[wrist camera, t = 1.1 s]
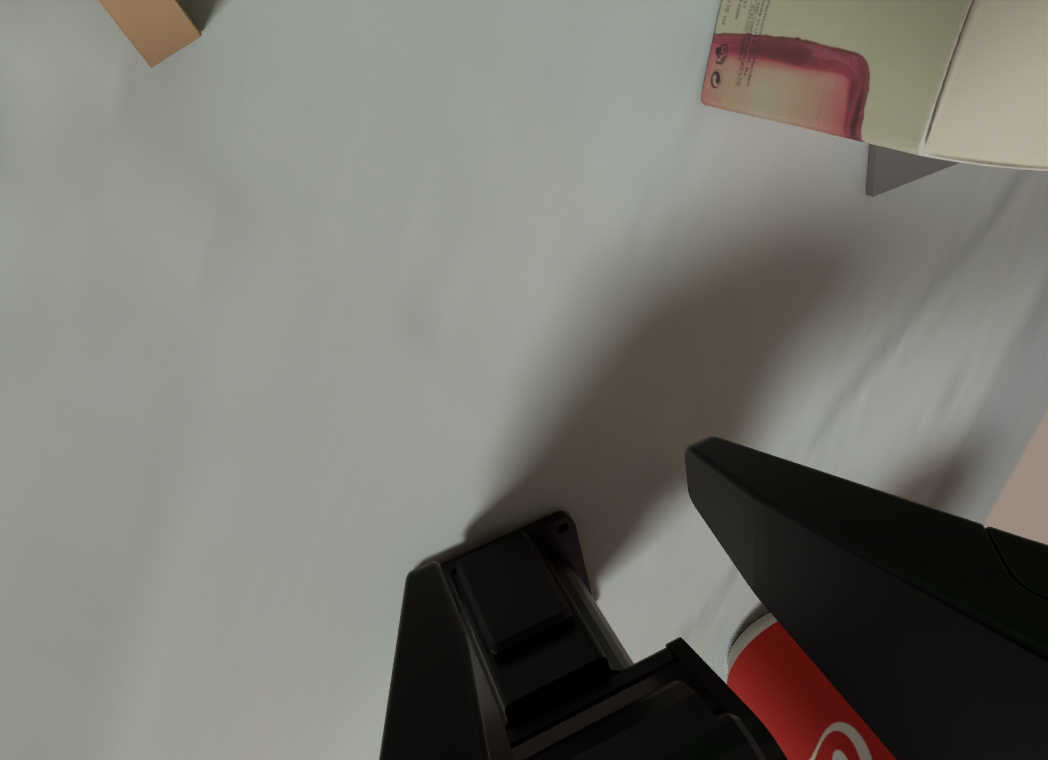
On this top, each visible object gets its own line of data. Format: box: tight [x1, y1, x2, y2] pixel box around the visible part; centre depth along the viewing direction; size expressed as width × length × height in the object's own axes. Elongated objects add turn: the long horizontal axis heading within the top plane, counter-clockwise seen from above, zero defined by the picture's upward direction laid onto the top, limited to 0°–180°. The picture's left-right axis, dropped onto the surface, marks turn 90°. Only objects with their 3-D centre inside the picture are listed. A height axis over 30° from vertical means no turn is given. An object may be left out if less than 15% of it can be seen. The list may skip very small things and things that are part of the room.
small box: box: [701, 0, 1048, 171], centre depth 17 cm, size 5×4×8 cm
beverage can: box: [727, 613, 896, 760], centre depth 32 cm, size 6×6×12 cm
